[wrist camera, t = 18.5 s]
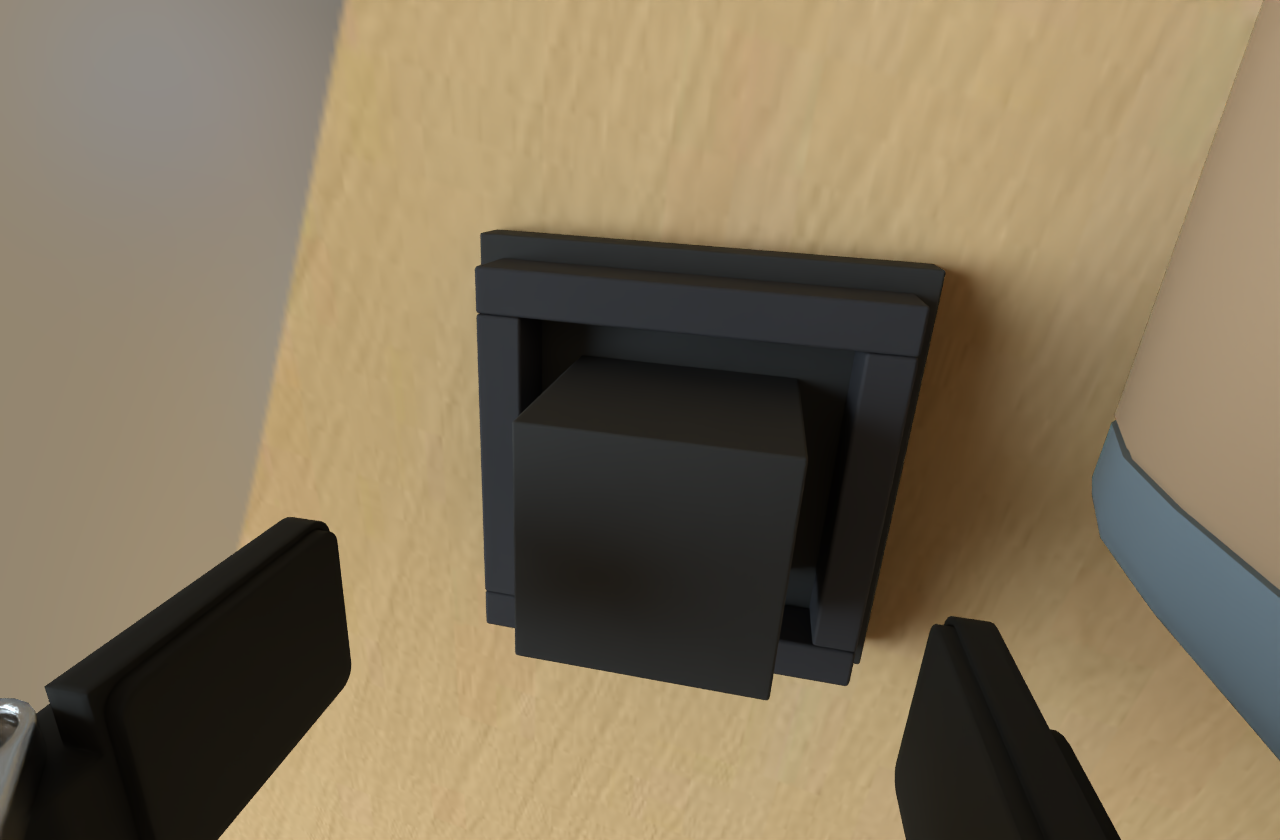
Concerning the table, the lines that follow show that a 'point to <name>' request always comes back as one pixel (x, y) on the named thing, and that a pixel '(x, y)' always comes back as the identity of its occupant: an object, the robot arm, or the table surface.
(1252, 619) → the alarm clock
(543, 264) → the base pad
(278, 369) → the table surface
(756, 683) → the black cube
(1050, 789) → the robot arm
